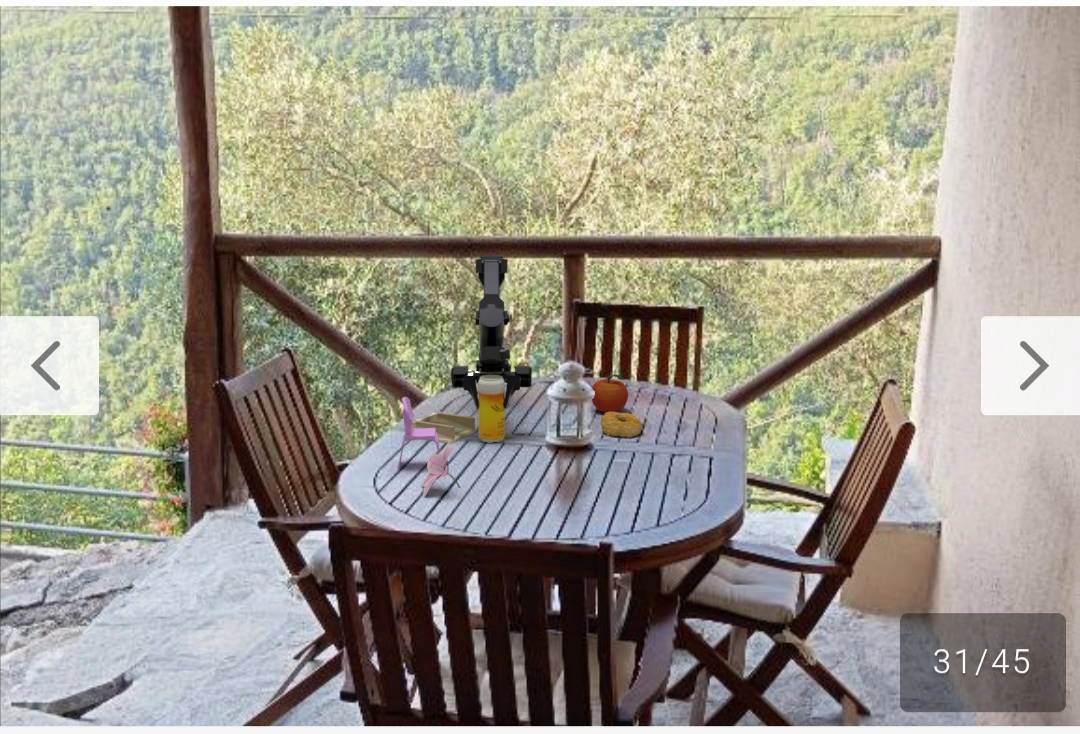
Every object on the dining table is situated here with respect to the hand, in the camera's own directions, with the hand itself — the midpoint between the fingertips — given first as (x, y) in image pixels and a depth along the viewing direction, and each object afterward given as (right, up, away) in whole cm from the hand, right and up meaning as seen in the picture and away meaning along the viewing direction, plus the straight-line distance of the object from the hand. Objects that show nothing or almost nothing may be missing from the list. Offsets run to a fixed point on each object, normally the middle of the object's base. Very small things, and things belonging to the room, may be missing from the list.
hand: (491, 407), depth 247 cm
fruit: (+29, -2, +29) cm, 41 cm away
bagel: (+31, -7, +10) cm, 33 cm away
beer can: (0, -8, +3) cm, 8 cm away
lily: (-9, -15, -32) cm, 36 cm away
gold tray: (-12, -6, +8) cm, 16 cm away
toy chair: (-15, -12, -16) cm, 25 cm away
